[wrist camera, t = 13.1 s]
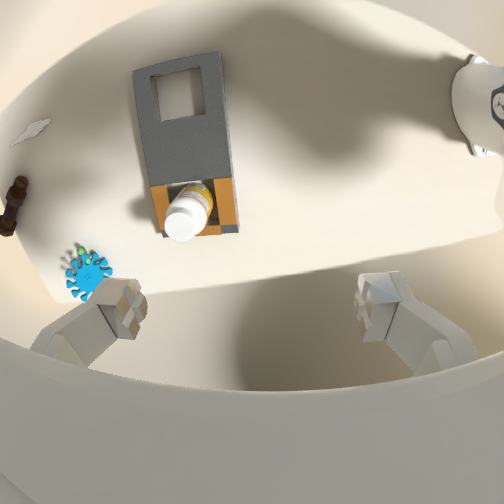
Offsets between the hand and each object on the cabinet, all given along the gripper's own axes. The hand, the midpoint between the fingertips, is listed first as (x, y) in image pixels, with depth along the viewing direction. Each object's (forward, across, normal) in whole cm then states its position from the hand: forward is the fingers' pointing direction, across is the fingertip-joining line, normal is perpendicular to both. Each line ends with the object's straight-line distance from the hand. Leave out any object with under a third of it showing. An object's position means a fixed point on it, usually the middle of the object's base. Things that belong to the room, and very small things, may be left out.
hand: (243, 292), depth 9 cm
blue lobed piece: (+29, +34, +18) cm, 48 cm away
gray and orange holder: (+30, +11, 0) cm, 32 cm away
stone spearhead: (+29, +42, -11) cm, 53 cm away
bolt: (+29, +52, +2) cm, 59 cm away
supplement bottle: (+30, +11, +8) cm, 33 cm away
